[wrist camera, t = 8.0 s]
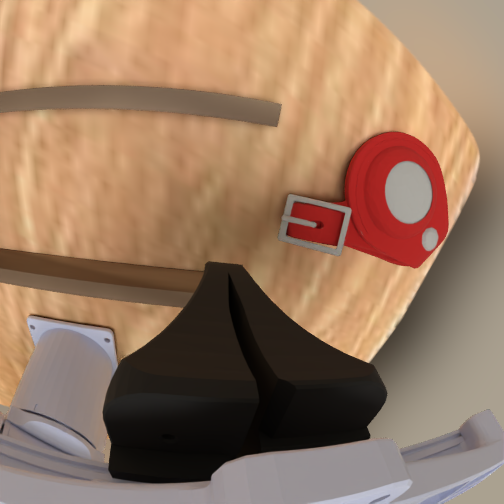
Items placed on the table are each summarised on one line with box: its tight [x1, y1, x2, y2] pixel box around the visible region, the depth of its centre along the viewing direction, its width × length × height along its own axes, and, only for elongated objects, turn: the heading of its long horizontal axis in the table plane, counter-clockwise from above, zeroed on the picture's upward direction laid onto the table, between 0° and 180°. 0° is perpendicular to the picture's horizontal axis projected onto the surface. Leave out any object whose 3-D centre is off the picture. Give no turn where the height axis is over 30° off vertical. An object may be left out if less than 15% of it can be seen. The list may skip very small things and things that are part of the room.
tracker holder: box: [277, 132, 449, 268], centre depth 19 cm, size 12×4×10 cm
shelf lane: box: [0, 85, 282, 308], centre depth 16 cm, size 13×20×3 cm, turn 80°
